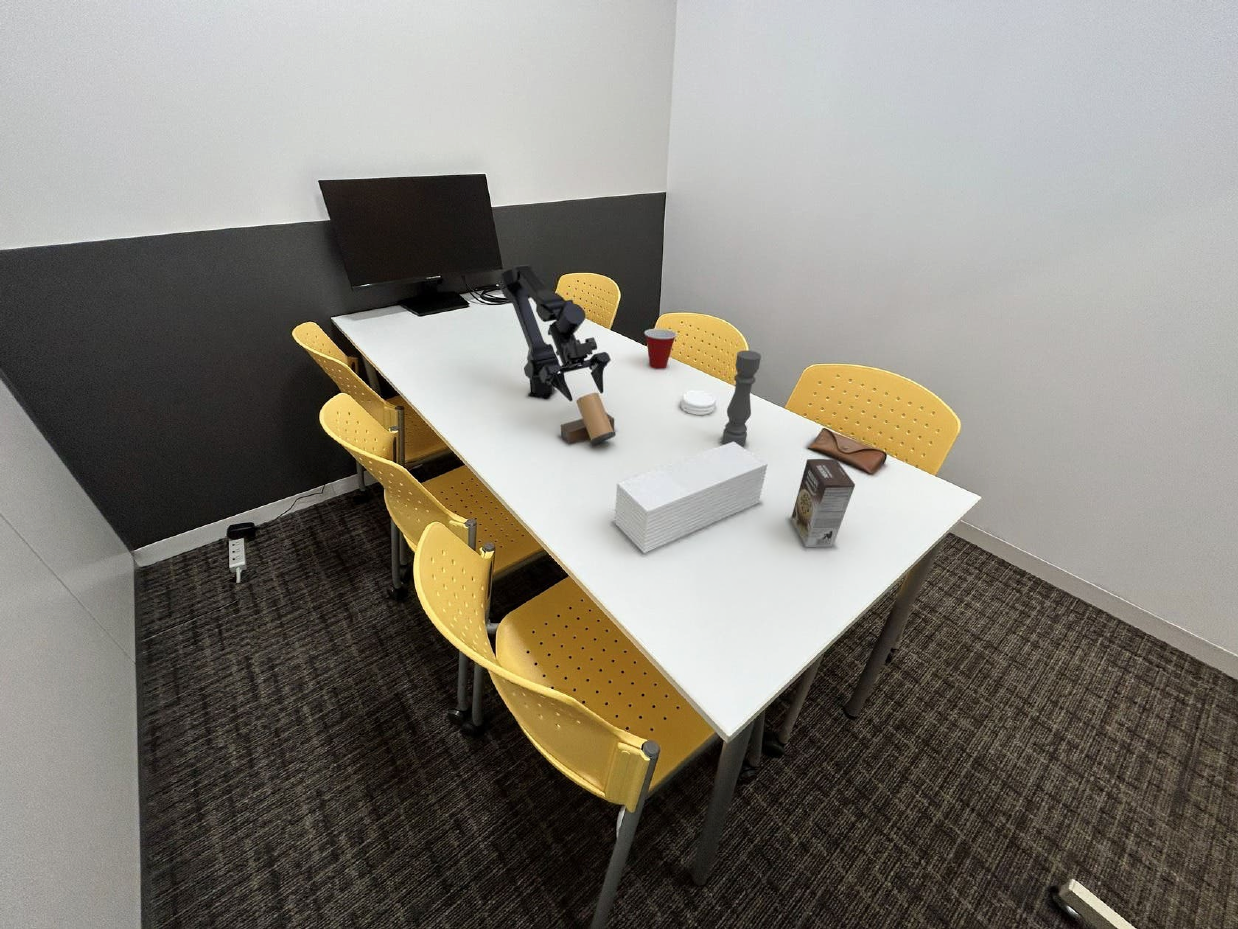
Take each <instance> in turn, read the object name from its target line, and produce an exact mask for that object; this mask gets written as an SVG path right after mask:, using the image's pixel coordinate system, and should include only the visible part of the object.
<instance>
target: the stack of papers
mask: <svg viewBox="0 0 1238 929" xmlns="http://www.w3.org/2000/svg"><path fill="white" fill-rule="evenodd" d="M767 469H768V463H766V461H764V460H762V459H761V458H759V457H758V456H757V455H755V454H753V453H752V452H750V451H749V450H748V449H746V448H744V447H741V446H740V445H738V444H737V443H735V442H731V443H728V444H725V445H723V444H722V445H720V446H717V447H715V448H711V449H708V450H706V451H703V452H700V453H697V454H694V455H692V456H688V457H687V458H683V459H680V460H678V461H677V460H676V461H675V462H672V463H668V464H666V465H663V466H660V467H657V468H654V469H652V470H649V471H646V472H644V473H641V474H637V475H635V476H632V477H629V478H627V479H624V480H621V481H618V482H616V491H615V492H616V495H615V518H614V519H615V521H614V523H615V524H616V526H617V527H618V528H619V529H620V530H621V531H622V532H623V533H624V534H625V535H626V536H627V537H628V538H629V540H630V541H631V542H632V543H633V544H634V545H635V546H636V547H637V548H638V549H639V550H640V551H641V552H642V553H643V554H646V553H648V552H650V551H653V550H654V549H657V548H660V547H661V546H664V545H666V544H669V543H670V542H673V541H675V540H677V539H680V538H682V537H684V536H687V535H689V534H691V533H693V532H695V531H698V530H700V529H703V528H704V527H707V526H709V525H711V524H714V523H716V522H718V521H721V520H723V519H725V518H728V517H730V516H733V515H734V514H736V513H739V512H741V511H743V510H746V509H748V508H750V507H753V506H755V505H757V504H759V503H760V498H761V496H762V490H763V486H764V482H765V477H766V473H767Z"/></svg>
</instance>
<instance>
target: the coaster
mask: <svg viewBox="0 0 1238 929" xmlns="http://www.w3.org/2000/svg"><path fill="white" fill-rule="evenodd" d="M680 401H681V402H680V407H681V409H682V410H683V411H685V412H686V413H689V414H691V415H695V416H705V415H708V414H711V413H713V412H714V410H715V408H716V407H715V406H716V401H717V400H716V397H715V396H714V395H713V393H710V392H708V391H705V390H699V389H697V390H696V389H693V390H688V391H685V392H684V393H682V395H681V400H680Z"/></svg>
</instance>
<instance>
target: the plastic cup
mask: <svg viewBox="0 0 1238 929" xmlns="http://www.w3.org/2000/svg"><path fill="white" fill-rule="evenodd" d="M643 333H644V335H645V338H646V344H647V355H648V363H649V367H650V368H652V369H654V370H663V369H667V368H666V367H667V366H668V362H669V359H670V356H671V352H672V348H673V345H674V342H675V339H676V337H677V336H678V333H677V332H676V331H673V330H670V329H664V328H649V329H646V330H644V332H643Z"/></svg>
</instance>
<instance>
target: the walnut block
mask: <svg viewBox="0 0 1238 929" xmlns="http://www.w3.org/2000/svg"><path fill="white" fill-rule="evenodd" d="M606 414H607V417H608V419H609V422H610V424H611V427H612V429H613V432H615V418H614V417H612V415H610V414H609V413H608V412H606ZM560 437H561V438H562V440H564V441H565V442H566V443H567V444H568V445H572V444H575V443H579V442H582V441H585V440H588V439H590V436H589V434H588V431H587V429H586V426H585V424H584V421H583V418H579V419H576V420H573V421H569V422H566V423H562V424H560Z"/></svg>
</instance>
